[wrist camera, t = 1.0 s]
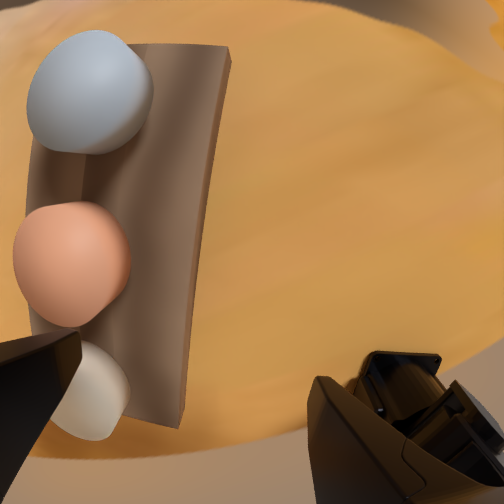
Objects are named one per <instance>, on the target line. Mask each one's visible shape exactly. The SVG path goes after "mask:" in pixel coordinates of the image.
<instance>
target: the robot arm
mask: <svg viewBox="0 0 504 504" xmlns="http://www.w3.org/2000/svg"><path fill="white" fill-rule="evenodd" d="M377 356H379V357H378V358H377V359H375V357H377ZM374 359H375V360H374ZM436 359H437V360H436ZM435 360H436V361H435ZM81 361H82V344H81V335H80V333H79V332H78V331H77V330H73V329H70V328H65V329H60V330H56V331H52V332H47V333H43V334H38V335H34V336H29V337H25V338H20V339H16V340H11V341H6V342H2V343H0V504H1V503H2V501H3V499H4V498H3V497H5V495H6V493H7V491H8V489H9V487H10V485H11V484H12V482H13V480H14V478H15V477H16V475H17V473H18V471H19V469H20V467H21V466H22V464H23V462H24V461H25V459H26V457H27V456H28V454H29V452H30V450H31V449H32V447H33V445H34V444H35V442H36V440H37V439H38V437H39V435H40V434H41V432H42V430H43V429H44V427H45V426H46V424H47V422H48V421H49V419H50V418H51V416H52V414H53V413H54V411H55V410H56V408H57V407H58V405H59V403H60V402H61V400H62V398H63V397H64V395H65V393H66V391H67V389H68V387H69V385H70V383H71V381H72V379H73V377H74V375H75V373H76V371H77V369H78V367H79V365H80V363H81ZM434 361H435V362H434ZM441 361H442V358H441V357H440V356H439V355H438V354H427V353H406V352H390V351H374V352H373V353H371V355H370V357H369V359H368V362H367V365H366V368H365V370H364V373H363V376H361V377H360V378H359V381H358V383H357V386H356V388H355V391H354V393H353V395H352V394H351V393H349V392H348V391H347V390H346V389H344V388H343V387H342V386H341V385H339V384H338V383H337V382H336V381H335V380H333V379H332V378H331V377H329V376H316V377H315V379H314V381H313V384H312V387H311V391H310V394H309V397H308V401H307V420H308V450H309V457H310V464H311V470H312V477H313V483H314V490H315V497H316V503H317V504H504V453H503V450H504V433H503V431H502V429H501V428H500V426H499V424H498V423H497V421H496V420H495V419H494V418H493V417H492V416H491V414H490V413H489V412H488V411H487V410H486V409H485V408H484V406H483V405H482V404H481V403H480V402H479V401H478V400H477V399H476V398H475V397H474V396H473V395H472V394H470V393H469V392H468V391H467V390H466V389H465V388H464V387H463V386H462V385H461V384H460V383H459V382H458V381H457V380H454V381H453V382H452V383H451V385H450V387H449V388H448V389H447V390H446V388H445V387H444V386H443V385H442V383H441V382H440V381H439V379H438V378H437V377H436V376H435V375H436V373H437V370H438V368H439V366H440V364H441Z"/></svg>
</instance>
